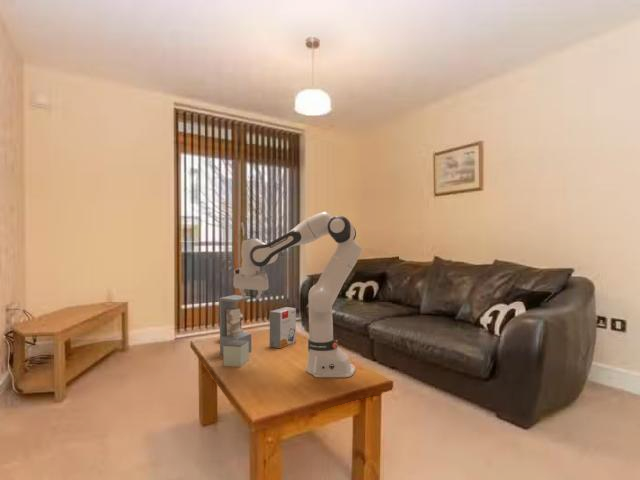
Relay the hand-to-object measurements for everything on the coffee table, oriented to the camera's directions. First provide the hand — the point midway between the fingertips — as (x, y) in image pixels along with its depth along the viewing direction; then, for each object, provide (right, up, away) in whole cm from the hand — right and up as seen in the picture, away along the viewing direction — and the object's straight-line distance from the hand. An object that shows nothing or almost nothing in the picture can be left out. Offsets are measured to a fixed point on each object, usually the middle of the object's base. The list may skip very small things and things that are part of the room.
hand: (251, 298), depth 180 cm
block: (-12, -22, +13) cm, 28 cm away
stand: (-7, -31, -3) cm, 32 cm away
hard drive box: (+13, -31, +26) cm, 43 cm away
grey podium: (-10, -31, +12) cm, 35 cm away
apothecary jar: (-17, -31, +35) cm, 50 cm away
